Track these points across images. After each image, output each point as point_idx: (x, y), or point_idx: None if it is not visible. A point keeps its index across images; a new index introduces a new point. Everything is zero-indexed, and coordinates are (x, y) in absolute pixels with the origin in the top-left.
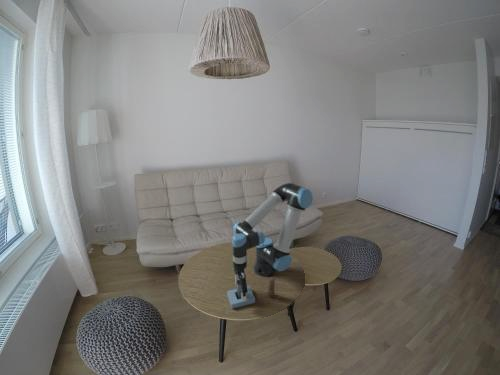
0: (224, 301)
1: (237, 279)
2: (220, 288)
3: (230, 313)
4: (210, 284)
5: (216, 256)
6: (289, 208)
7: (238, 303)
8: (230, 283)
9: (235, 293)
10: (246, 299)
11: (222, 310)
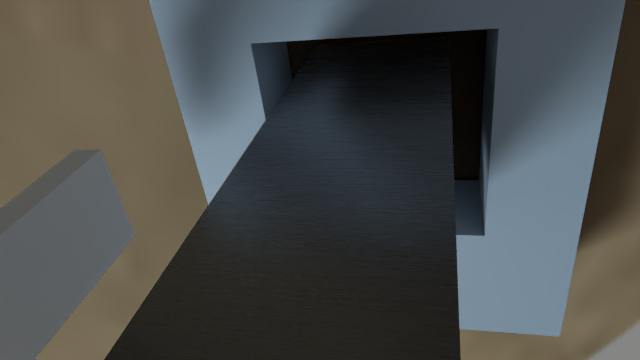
0: None
1: (36, 289)
2: (142, 294)
3: (618, 297)
4: (85, 356)
5: None
6: None
7: (576, 226)
8: (42, 172)
9: None
10: (570, 63)
11: (513, 355)
